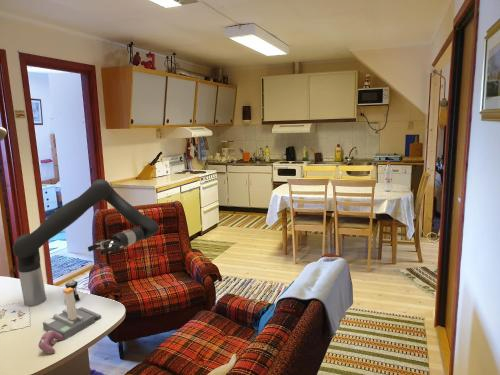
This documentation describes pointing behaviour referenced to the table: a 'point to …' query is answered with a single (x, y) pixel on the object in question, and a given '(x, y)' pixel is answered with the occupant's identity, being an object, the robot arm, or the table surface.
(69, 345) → the table surface
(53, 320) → the breaker panel
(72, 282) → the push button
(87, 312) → the grey long flat bar
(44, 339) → the video game controller
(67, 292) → the breaker lever
